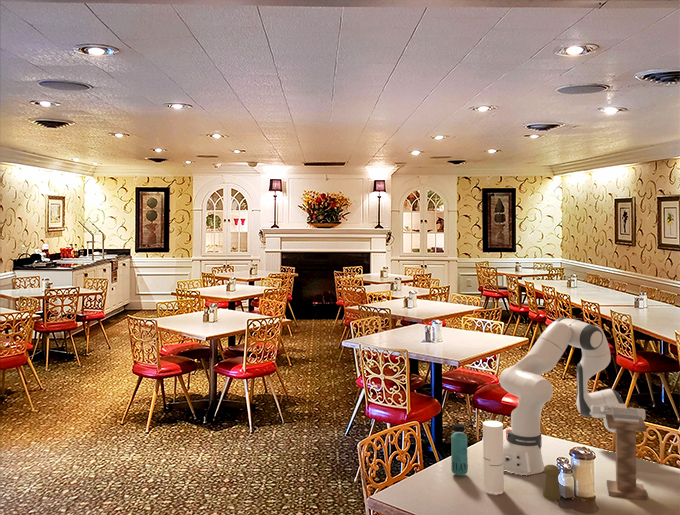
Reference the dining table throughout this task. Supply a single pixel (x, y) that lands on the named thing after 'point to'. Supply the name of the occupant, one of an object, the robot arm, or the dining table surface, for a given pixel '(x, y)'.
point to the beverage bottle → (459, 450)
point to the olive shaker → (551, 483)
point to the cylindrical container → (493, 456)
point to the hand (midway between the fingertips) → (618, 408)
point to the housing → (625, 414)
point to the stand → (626, 460)
